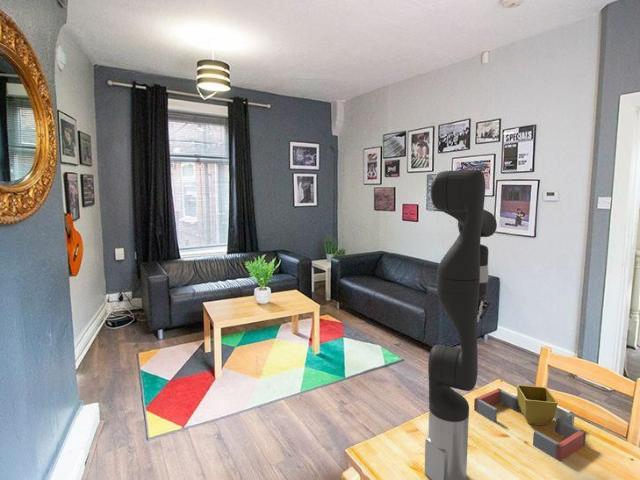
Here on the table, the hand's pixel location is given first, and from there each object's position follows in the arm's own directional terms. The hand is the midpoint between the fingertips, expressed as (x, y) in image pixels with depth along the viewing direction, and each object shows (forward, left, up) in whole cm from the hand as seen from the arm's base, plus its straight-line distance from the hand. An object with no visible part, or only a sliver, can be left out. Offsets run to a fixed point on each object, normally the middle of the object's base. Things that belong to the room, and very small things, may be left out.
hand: (472, 333), depth 112 cm
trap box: (+13, -13, -27) cm, 32 cm away
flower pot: (+15, -12, -27) cm, 33 cm away
